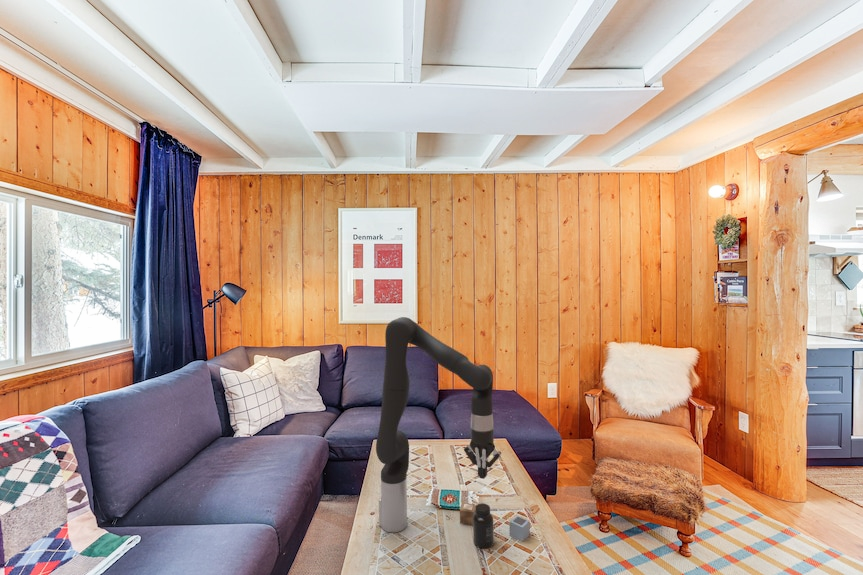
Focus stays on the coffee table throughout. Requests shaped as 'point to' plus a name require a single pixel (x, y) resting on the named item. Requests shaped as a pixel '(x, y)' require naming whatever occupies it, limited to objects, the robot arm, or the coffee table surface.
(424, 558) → the coffee table surface
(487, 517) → the supplement bottle
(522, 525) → the slate-blue block
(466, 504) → the walnut block
